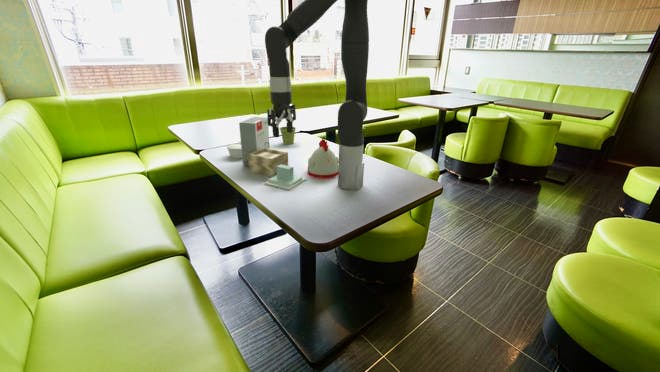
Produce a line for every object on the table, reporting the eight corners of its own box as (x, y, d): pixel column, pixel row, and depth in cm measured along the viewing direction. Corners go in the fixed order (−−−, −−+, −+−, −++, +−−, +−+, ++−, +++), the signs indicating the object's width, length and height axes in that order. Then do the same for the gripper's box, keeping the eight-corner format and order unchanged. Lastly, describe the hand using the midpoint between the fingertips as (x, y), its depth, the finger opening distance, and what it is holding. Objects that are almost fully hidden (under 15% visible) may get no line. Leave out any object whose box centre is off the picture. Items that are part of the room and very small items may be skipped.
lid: (302, 179, 122) (301, 165, 120) (290, 186, 115) (289, 172, 113) (281, 174, 127) (280, 161, 124) (268, 181, 120) (267, 167, 117)
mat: (306, 179, 124) (306, 178, 123) (289, 190, 114) (289, 188, 114) (282, 174, 129) (282, 173, 128) (264, 184, 119) (264, 182, 119)
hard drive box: (258, 167, 137) (254, 123, 128) (242, 165, 138) (237, 122, 130) (270, 156, 151) (268, 117, 142) (256, 155, 152) (253, 116, 144)
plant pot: (295, 145, 170) (295, 130, 166) (279, 145, 170) (278, 129, 166) (297, 140, 178) (296, 126, 175) (281, 140, 179) (280, 126, 175)
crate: (288, 169, 135) (287, 152, 131) (273, 177, 126) (272, 159, 123) (265, 164, 140) (264, 147, 137) (249, 171, 131) (248, 154, 128)
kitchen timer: (314, 180, 123) (314, 145, 117) (303, 169, 135) (302, 137, 129) (344, 175, 129) (345, 141, 123) (331, 165, 140) (331, 134, 134)
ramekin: (254, 153, 156) (253, 143, 154) (246, 159, 146) (245, 149, 144) (233, 152, 157) (232, 142, 155) (224, 158, 147) (223, 148, 145)
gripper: (276, 92, 99) (279, 140, 106) (300, 88, 111) (301, 131, 117) (259, 91, 103) (263, 137, 109) (284, 87, 114) (286, 129, 121)
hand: (283, 134), depth 113 cm, fingers open, 8 cm apart
